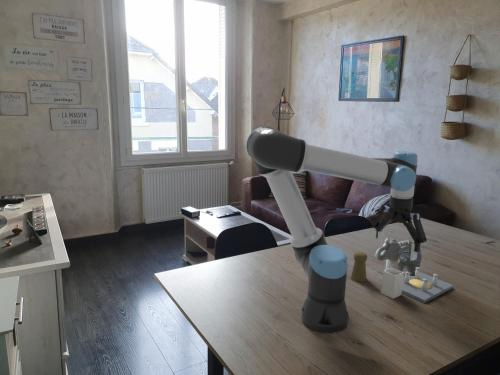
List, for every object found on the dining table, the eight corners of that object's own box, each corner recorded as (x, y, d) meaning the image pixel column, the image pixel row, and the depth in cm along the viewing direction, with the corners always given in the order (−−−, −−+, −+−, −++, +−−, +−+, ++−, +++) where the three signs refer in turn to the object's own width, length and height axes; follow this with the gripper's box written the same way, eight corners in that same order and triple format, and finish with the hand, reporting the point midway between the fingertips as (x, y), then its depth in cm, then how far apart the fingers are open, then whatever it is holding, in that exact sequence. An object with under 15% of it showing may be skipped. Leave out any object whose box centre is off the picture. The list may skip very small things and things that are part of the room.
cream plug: (393, 298, 134) (395, 275, 132) (381, 293, 138) (383, 269, 136) (401, 295, 137) (403, 271, 135) (389, 289, 141) (391, 266, 139)
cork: (349, 279, 148) (351, 253, 146) (352, 273, 153) (354, 248, 151) (364, 283, 145) (367, 257, 143) (367, 277, 151) (370, 251, 148)
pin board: (424, 303, 131) (425, 288, 130) (387, 286, 143) (388, 272, 142) (452, 288, 143) (454, 274, 141) (416, 273, 155) (418, 260, 153)
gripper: (442, 202, 122) (434, 262, 126) (377, 188, 141) (373, 240, 146) (430, 205, 117) (422, 268, 122) (365, 190, 137) (360, 244, 142)
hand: (395, 253), depth 134 cm, fingers open, 13 cm apart
